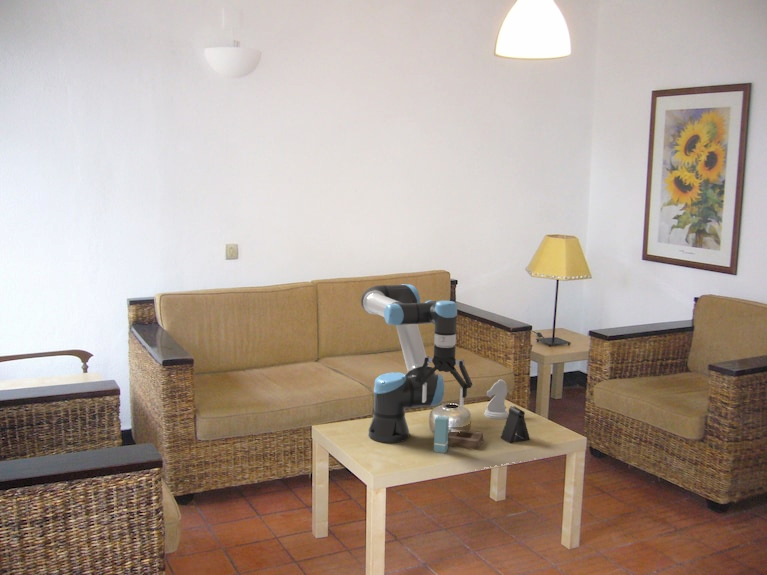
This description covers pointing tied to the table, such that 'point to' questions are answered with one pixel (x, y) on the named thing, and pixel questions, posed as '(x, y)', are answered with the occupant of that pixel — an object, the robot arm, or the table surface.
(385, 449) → the table surface
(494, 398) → the chess piece
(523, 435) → the picture frame
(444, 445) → the peg
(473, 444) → the board
